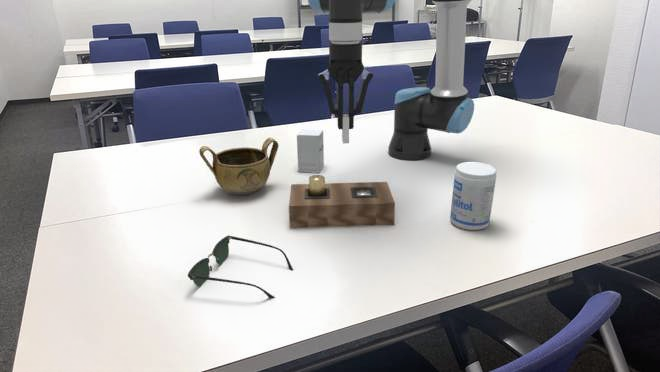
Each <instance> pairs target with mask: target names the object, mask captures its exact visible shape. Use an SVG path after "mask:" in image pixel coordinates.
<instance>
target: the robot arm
mask: <svg viewBox="0 0 660 372" xmlns="http://www.w3.org/2000/svg"><path fill="white" fill-rule="evenodd" d="M472 1H473V0H431V2H432V3H433V4H434V5H435V7H436V33H435V35H436V38H435V39H436V40H435V41H436V43H435V81H434V82H435V83H434V84H435V85H434V87H433V88H432V89H430V87H427V86H426V87H425V86H423V87H421V86H420V87H419V86H418V87H410V88H403V89H400V90H398V91H397V92H396V93H395V95H394V96H395V97H394V98H395V99H394V103H393V105H394V111H393V112H394V113H393V114H394V119H393V120H394V122H393V134H392V135H391V136H392V137H391V139H390V142H389V145H388V151H387V153H388V155H389V156H390V157H392V158H394V159H399V160H406V161H419V160H420V161H421V160H425V159H427V158H430V156H431V155H432V145H431V141H430V138H429V134H428V130H432V131H433V130H434V131H439V132H444V133H447V134H451V133H452V134H461V133H463V132H464V131H466V130H467V128H468V127H469V125H470V124H471V121H472V118H473V116H474V111H475V103H474V100H473V99H472V98H470V97H468V93H469V91H468V89H467V88H466V87H465V86H464V77H465V76H464V73H465V71H464V70H465V56H466V55H465V53H466V51H465V50H466V34H467V33H466V31H467V12H468V11H467V9H468V5H469V4H470V3H471V2H472ZM307 2H308V5H309V7H310V8H311V9H312V10H313V11H315V12H320V13H321V12H322V13H324V14H325V13H328V16H329V17H328V18H329V19H328V40H329V41H330V44H329V45H328V50H329V52H328V53H329V54H328V55H329V58H328V59H329V60H328V61H329V62H328V64H327V68H326V69H325V70H324V71H323V72H319V73H318V79H319V80H320V82H321V83H322V85H323V89H324V92H325V96H326V100H327V104H328V108H329V112H330V114H332V115H335V116H337V128H338V130H341V141H342V144H350V130H354V126H355V124H354V122H355V119H354V118H355V115H359V114H361V113H362V110H363V107H364V102H365V98H366V94H367V91H368V88H369V84H370V82H371V81H372V79H373V77H374V75H373V73H372V72H371V71H368V70H367V69H366V68H365V65H364V63H363V44H362V43H361V41H362V40H363V14H372V13H373V14H380V13H382V12H388V11H389V10H390V9H391V8H392V7H393V6H394V4H395V2H396V0H307ZM361 74H362V76H361ZM330 76H331V77H332V78H333V80H334V81H335V83H336V88H337V90H336V91H337V92H336V94H337V95H336V98H337V99H336V100H337V101H336V102H337V103H336V106H337V107H335V103H334V99H333V97H332V96H333V95H332V93H331V92H332V91H331V88H330V84H329V80H330ZM360 76H361V78H362V81H361V84H360V85H361V86H360V89H359V94H358V97H357V101H356V104H355V83H356V82H357V80H358V79H359V77H360ZM344 84H347V113H348V114H344Z"/></svg>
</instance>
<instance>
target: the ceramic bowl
mask: <svg viewBox="0 0 660 372" xmlns="http://www.w3.org/2000/svg"><path fill="white" fill-rule="evenodd" d="M271 144H272V146H271ZM269 146H271V149H270V153H269V156H268V148H269ZM278 150H279V143H278V141H277V140H276V139H275V138H273V137H267V138H266V139H265V140H264V142H263V144H262V147H261V149H260V148H256V147H250V146H249V147H244V146H243V147H232V148H228V149H223V150H221V151H219V152H217V153H216V152H214V150H213V149H212V148H211V147H209V146H206V145H203V146H201V147H200V148H199V151H198V153H199V156H200V158H202V160H203V162H204V163H205V165H206V166H207V167H208V169H209V170H210V171H211V172H212V174H213V177H214V178H215V181H216V182H217V184H218V186H220V188H221V189H223V190H224V191H225V192H228V193H230V194H233V195H237V196H238V195H239V196H244V195H245V196H246V195H249V194H250V195H251V194H253V193H256V192H258V191H259V190H260V189H261V188H262V187H264V186H265V184H266V183H267V182H268V179H269V178H270V176H271V170H272V167H273V164H274V161H275V158H276V155H277V153H278ZM206 151H208V152H210V154H211V156H212V164H211V162H210V161H208V159H207V158H206V156H205V154H204V153H205V152H206Z"/></svg>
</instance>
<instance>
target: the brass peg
mask: <svg viewBox="0 0 660 372" xmlns="http://www.w3.org/2000/svg"><path fill="white" fill-rule="evenodd" d="M325 179H326V178H325V176H324V175H322V174H313V175H310V176H309V177H308V184H309V192H310V197H320V196H325V183H326V181H325Z"/></svg>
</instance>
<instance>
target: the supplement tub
mask: <svg viewBox="0 0 660 372" xmlns="http://www.w3.org/2000/svg"><path fill="white" fill-rule="evenodd" d="M496 181H497V169H496V167H494V165H491V164H488V163H484V162H478V161H465V162H461V163H458V164H457V165H456V168H455V172H454V178H453V186H452V196H451V205H450V206H451V207H450V216H449V217H450V218H449V219H450V222H451V223H452V224H453V225H454V226H456V227H457V228H460V229H463V230H468V231H481V230H483V229H485V228H487V227H488V226H489V225H490V222H491V221H490V220H491V213H492V207H493V201H494V193H495V188H496V186H495V185H496Z"/></svg>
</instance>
